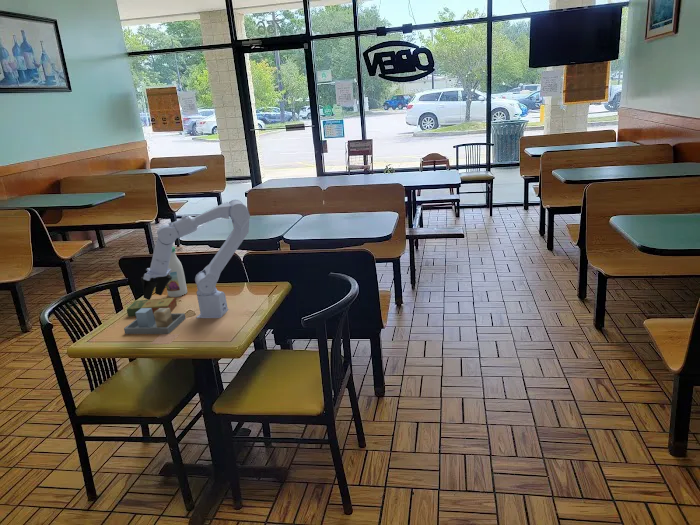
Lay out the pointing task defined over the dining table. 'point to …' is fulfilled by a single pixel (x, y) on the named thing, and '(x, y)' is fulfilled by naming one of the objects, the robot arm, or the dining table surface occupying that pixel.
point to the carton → (151, 305)
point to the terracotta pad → (165, 338)
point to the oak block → (163, 317)
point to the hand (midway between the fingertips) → (152, 296)
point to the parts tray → (134, 328)
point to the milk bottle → (176, 277)
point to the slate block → (145, 318)
